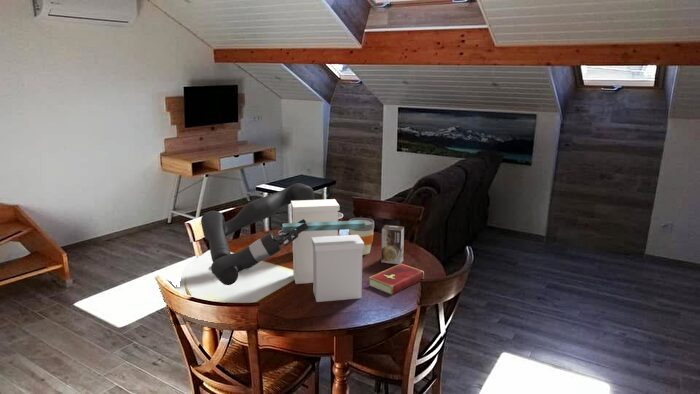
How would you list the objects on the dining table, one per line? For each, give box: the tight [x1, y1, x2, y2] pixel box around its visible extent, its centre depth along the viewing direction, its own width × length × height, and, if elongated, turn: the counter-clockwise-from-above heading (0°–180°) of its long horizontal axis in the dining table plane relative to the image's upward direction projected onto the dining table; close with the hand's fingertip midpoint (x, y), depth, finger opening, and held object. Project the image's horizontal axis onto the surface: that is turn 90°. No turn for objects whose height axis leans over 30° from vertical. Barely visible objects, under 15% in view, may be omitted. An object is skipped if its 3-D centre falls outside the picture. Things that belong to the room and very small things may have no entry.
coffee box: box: [380, 224, 405, 265], centre depth 211 cm, size 9×6×16 cm
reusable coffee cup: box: [347, 217, 375, 256], centre depth 223 cm, size 12×13×15 cm
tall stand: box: [290, 198, 341, 285], centre depth 190 cm, size 18×10×32 cm, turn 102°
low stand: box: [312, 234, 364, 303], centre depth 177 cm, size 18×10×22 cm, turn 102°
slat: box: [281, 220, 365, 232], centre depth 171 cm, size 30×4×2 cm, turn 102°
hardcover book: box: [368, 263, 425, 296], centre depth 191 cm, size 12×21×4 cm, turn 136°
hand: (306, 223), depth 170 cm, fingers closed on slat, 4 cm apart
